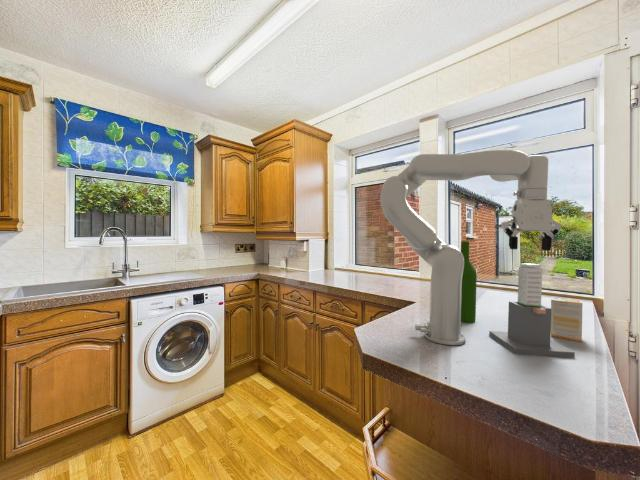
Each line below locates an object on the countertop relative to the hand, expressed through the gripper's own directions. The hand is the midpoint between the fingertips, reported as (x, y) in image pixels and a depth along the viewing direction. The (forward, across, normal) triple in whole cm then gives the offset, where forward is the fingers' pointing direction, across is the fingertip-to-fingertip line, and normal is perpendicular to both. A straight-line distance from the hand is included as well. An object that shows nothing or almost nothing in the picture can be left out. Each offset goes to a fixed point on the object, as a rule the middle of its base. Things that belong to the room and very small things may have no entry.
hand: (529, 249), depth 91 cm
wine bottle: (+31, -9, +26) cm, 41 cm away
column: (+24, +1, 0) cm, 24 cm away
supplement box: (+31, +19, +10) cm, 37 cm away
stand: (+31, +1, 0) cm, 31 cm away
